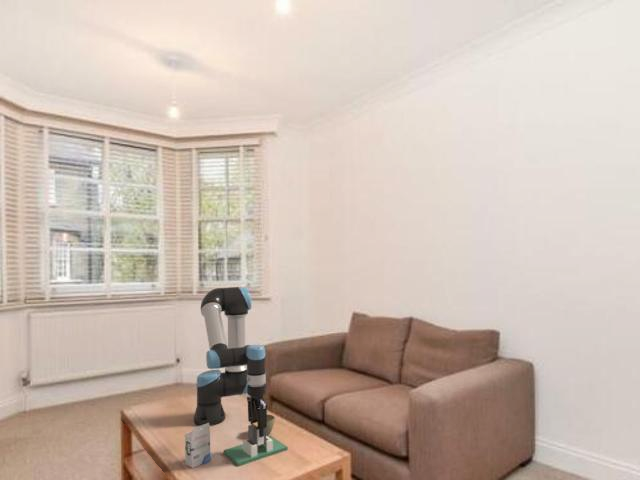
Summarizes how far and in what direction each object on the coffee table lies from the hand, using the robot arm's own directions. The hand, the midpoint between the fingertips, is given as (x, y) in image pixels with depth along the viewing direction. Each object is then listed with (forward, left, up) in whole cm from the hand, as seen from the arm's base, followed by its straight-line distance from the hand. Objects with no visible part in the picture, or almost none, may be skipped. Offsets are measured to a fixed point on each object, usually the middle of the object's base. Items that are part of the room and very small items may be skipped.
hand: (257, 442), depth 174 cm
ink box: (-8, -22, -5) cm, 24 cm away
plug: (0, 0, -1) cm, 1 cm away
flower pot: (-15, +11, -5) cm, 19 cm away
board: (-2, 0, -4) cm, 5 cm away
